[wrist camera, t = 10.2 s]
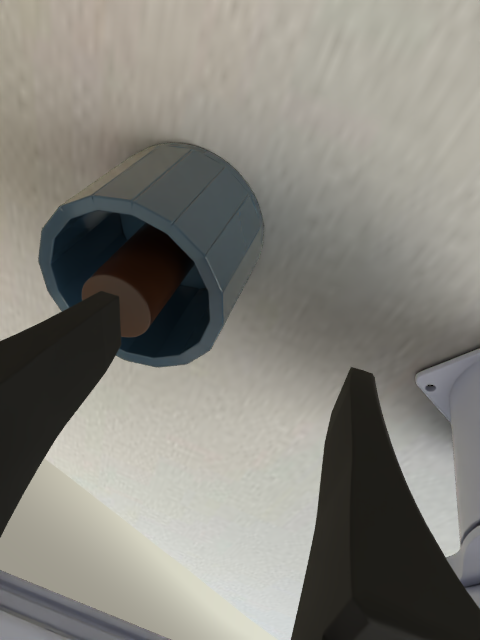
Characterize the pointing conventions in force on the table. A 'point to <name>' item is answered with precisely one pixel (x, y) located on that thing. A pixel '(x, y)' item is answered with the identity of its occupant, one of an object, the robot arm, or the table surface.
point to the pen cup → (180, 225)
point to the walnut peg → (141, 277)
